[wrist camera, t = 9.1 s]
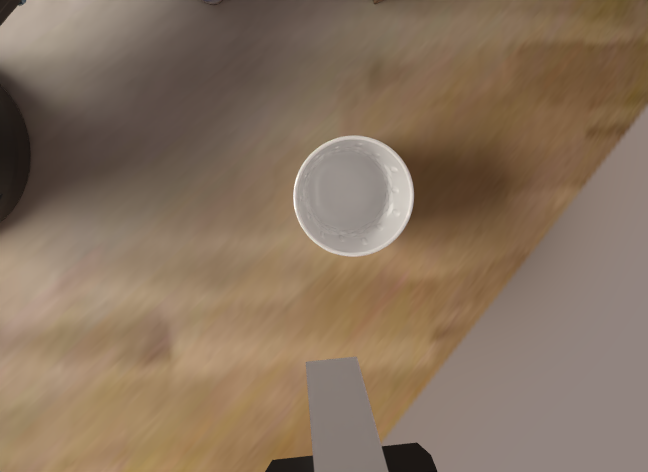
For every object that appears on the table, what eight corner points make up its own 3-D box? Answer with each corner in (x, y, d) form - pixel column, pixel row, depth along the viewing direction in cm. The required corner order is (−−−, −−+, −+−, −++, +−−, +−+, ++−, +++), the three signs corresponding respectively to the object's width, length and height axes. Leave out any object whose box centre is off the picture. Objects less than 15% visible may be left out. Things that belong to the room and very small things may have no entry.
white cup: (399, 149, 46) (424, 146, 36) (382, 243, 47) (402, 265, 37) (304, 134, 45) (303, 126, 35) (290, 228, 46) (284, 246, 36)
